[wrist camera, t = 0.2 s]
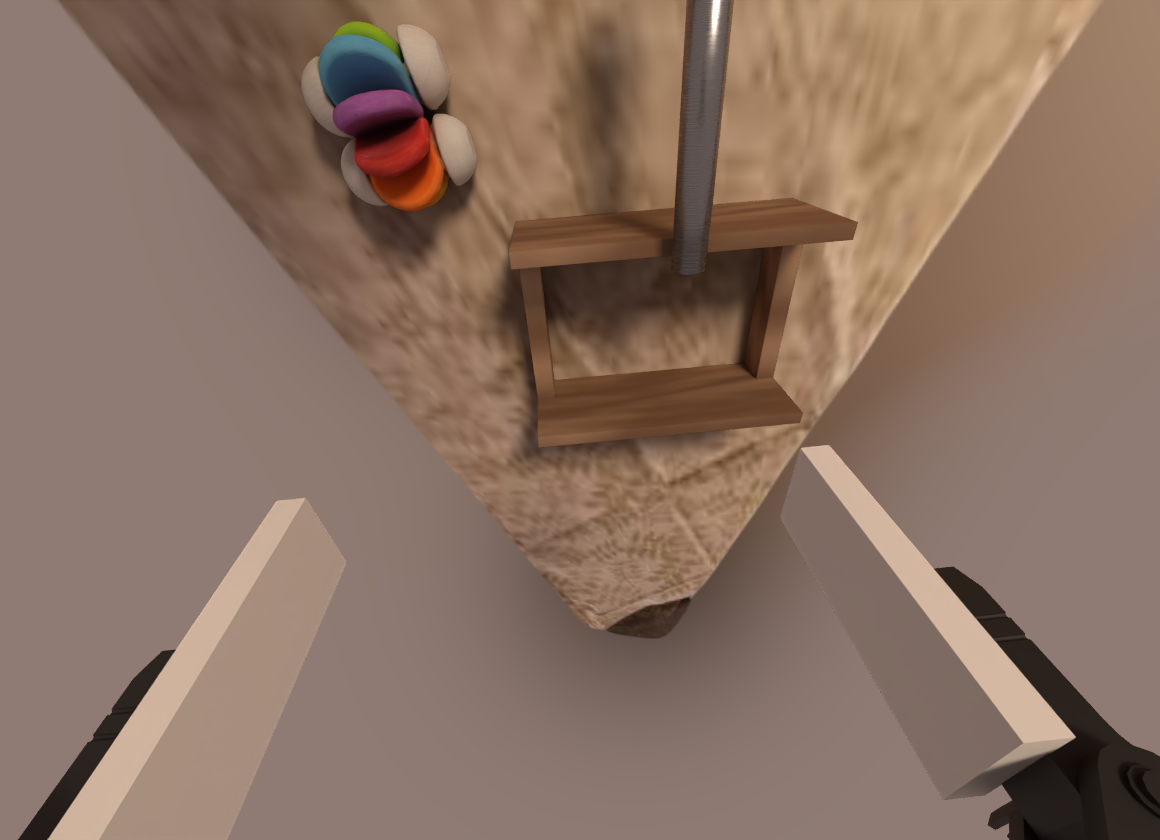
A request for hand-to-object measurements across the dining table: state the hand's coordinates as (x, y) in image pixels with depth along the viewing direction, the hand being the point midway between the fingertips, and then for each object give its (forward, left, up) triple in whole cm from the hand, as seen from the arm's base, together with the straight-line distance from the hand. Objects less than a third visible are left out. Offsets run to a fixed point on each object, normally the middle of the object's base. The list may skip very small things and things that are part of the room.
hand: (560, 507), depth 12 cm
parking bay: (+5, +8, -27) cm, 29 cm away
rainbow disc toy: (-9, -9, -27) cm, 30 cm away
